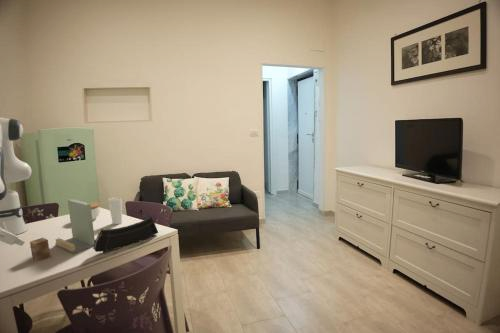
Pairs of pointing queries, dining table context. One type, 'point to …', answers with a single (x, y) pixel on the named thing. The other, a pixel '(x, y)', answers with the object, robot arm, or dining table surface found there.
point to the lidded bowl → (95, 210)
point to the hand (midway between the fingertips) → (18, 241)
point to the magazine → (124, 235)
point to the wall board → (79, 228)
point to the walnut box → (40, 249)
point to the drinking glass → (116, 210)
